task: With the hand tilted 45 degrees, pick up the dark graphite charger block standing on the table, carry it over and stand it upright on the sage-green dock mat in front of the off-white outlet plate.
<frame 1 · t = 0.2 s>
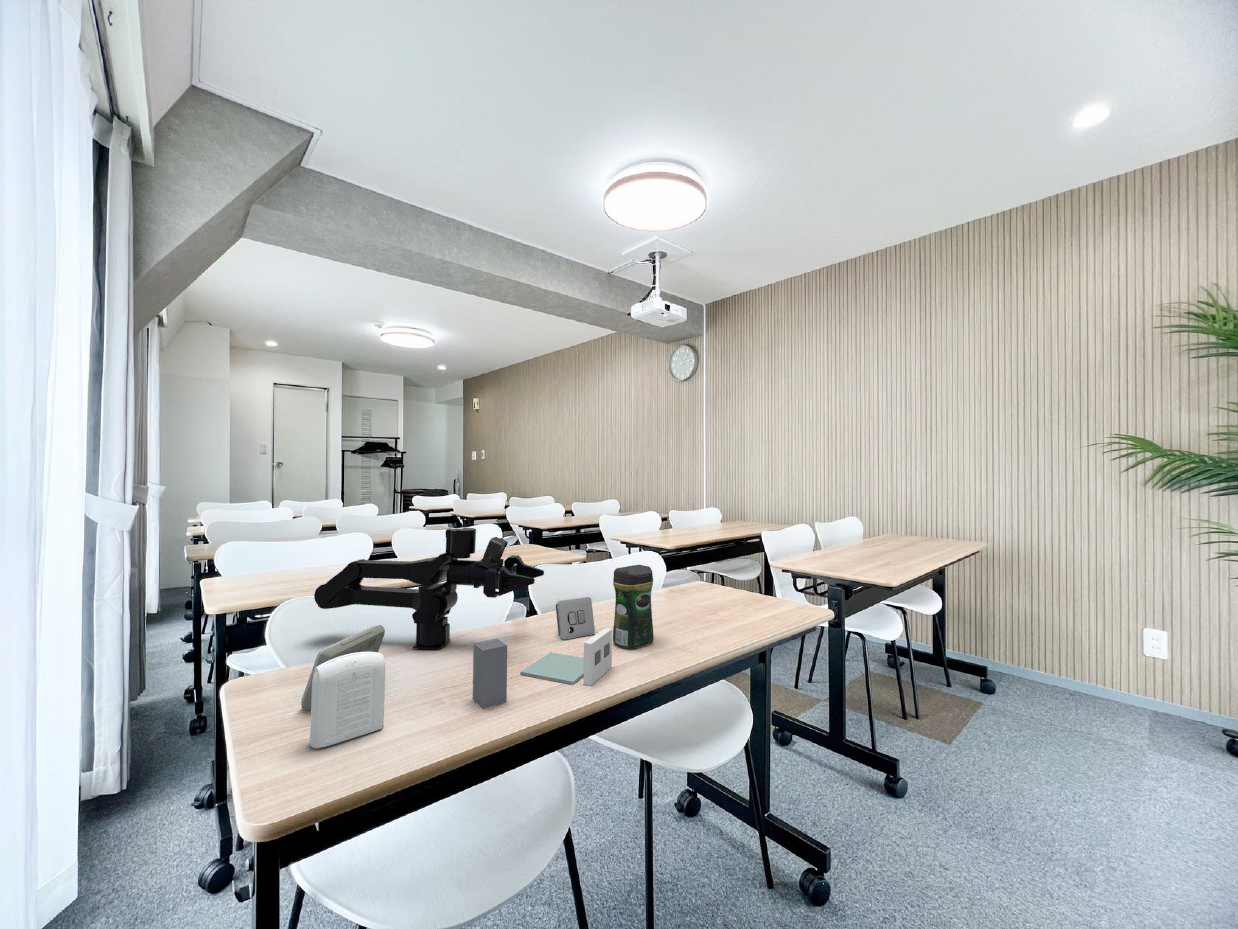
hand: (539, 576, 115), 17 cm above the table, tool horizontal, fingers open, 9 cm apart
electrical switch: (573, 636, 126), on the table
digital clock: (345, 695, 91), on the table
photo printer: (348, 736, 77), on the table
charger block: (489, 700, 89), on the table
outlet plate: (598, 675, 101), on the table
coffee jar: (632, 644, 120), on the table
dock mat: (561, 668, 104), on the table
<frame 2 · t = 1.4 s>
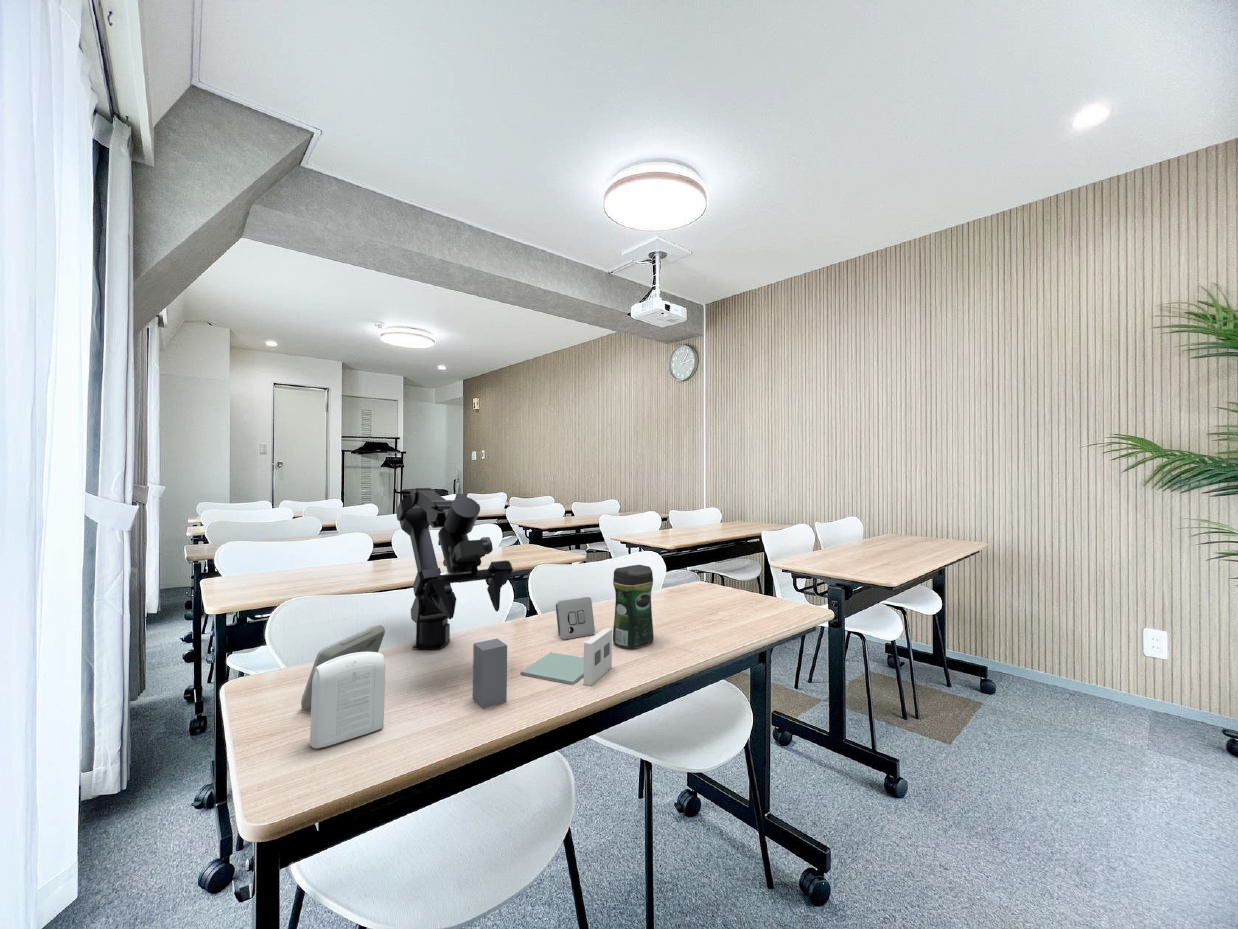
hand: (475, 614, 96), 13 cm above the table, tool tilted 45°, fingers open, 9 cm apart
nothing on the table moved.
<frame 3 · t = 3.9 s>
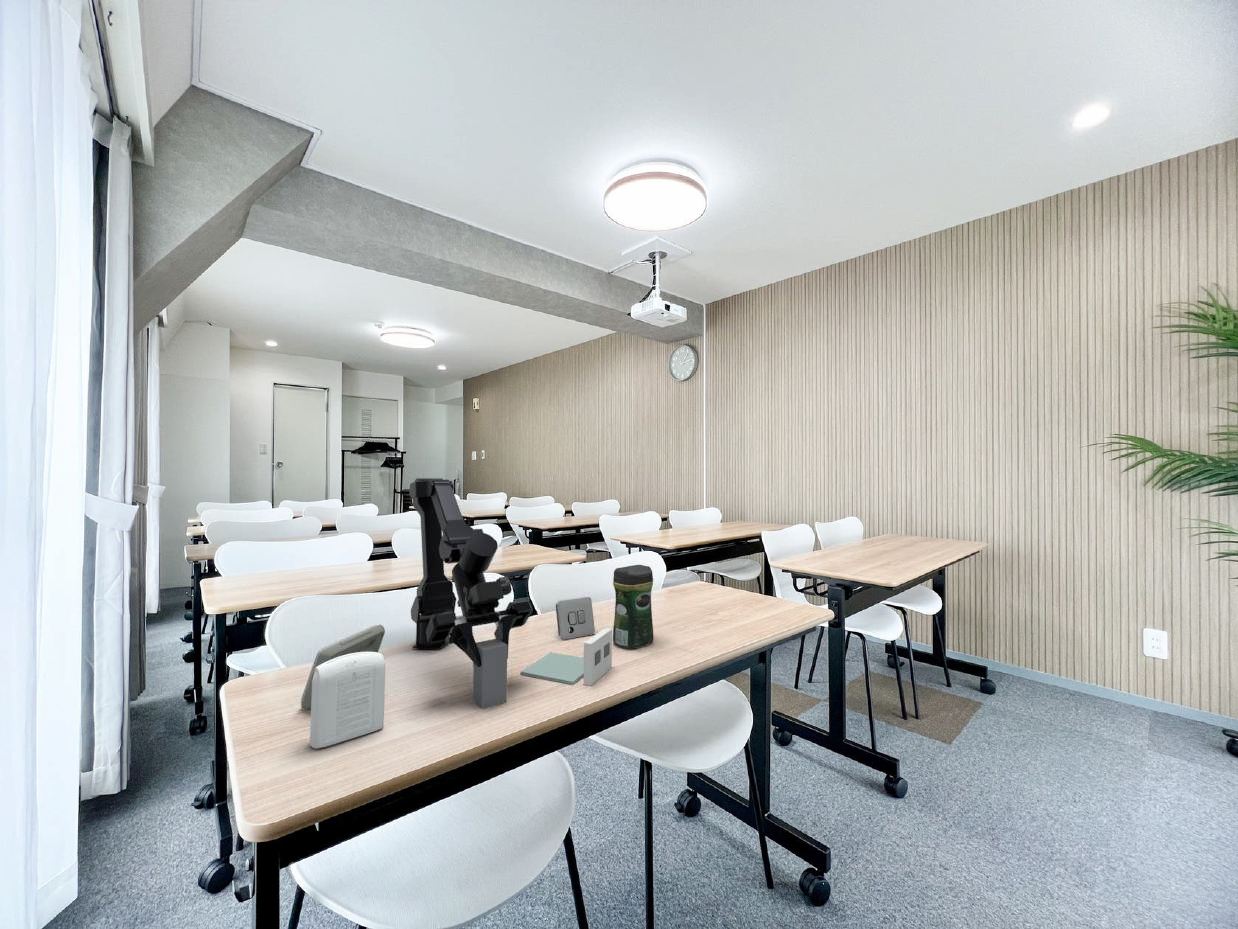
hand: (493, 662, 88), 7 cm above the table, tool tilted 45°, fingers closed on charger block, 4 cm apart
charger block: (489, 700, 89), on the table, touching gripper
everything else where it was.
when the fingers open (9 cm above the table, at t = 7.7 s): charger block stays where it is, resting on dock mat.
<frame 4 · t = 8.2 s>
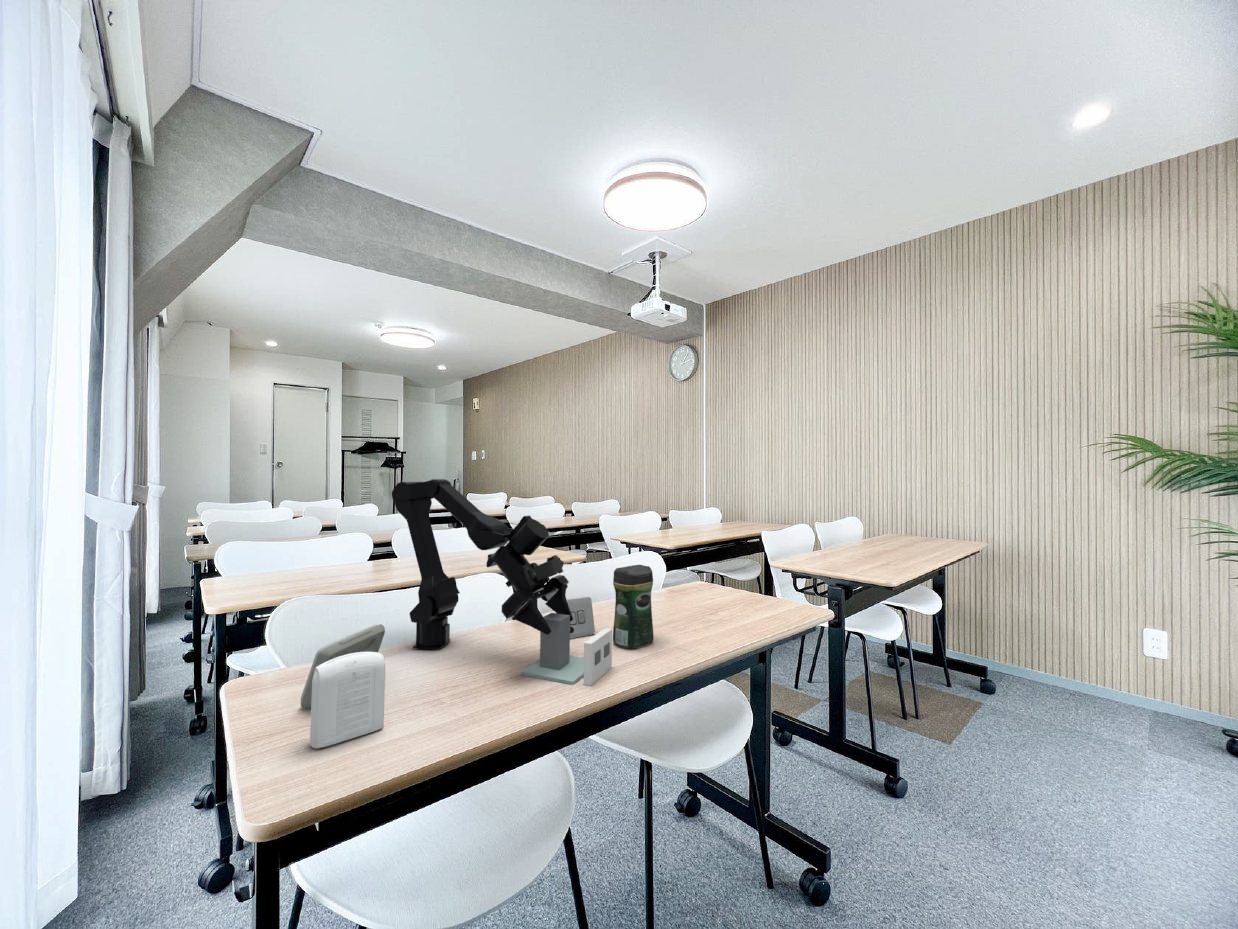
hand: (561, 627, 104), 9 cm above the table, tool tilted 45°, fingers open, 9 cm apart
charger block: (554, 664, 104), point 1 cm above the table, touching dock mat
everything else where it was.
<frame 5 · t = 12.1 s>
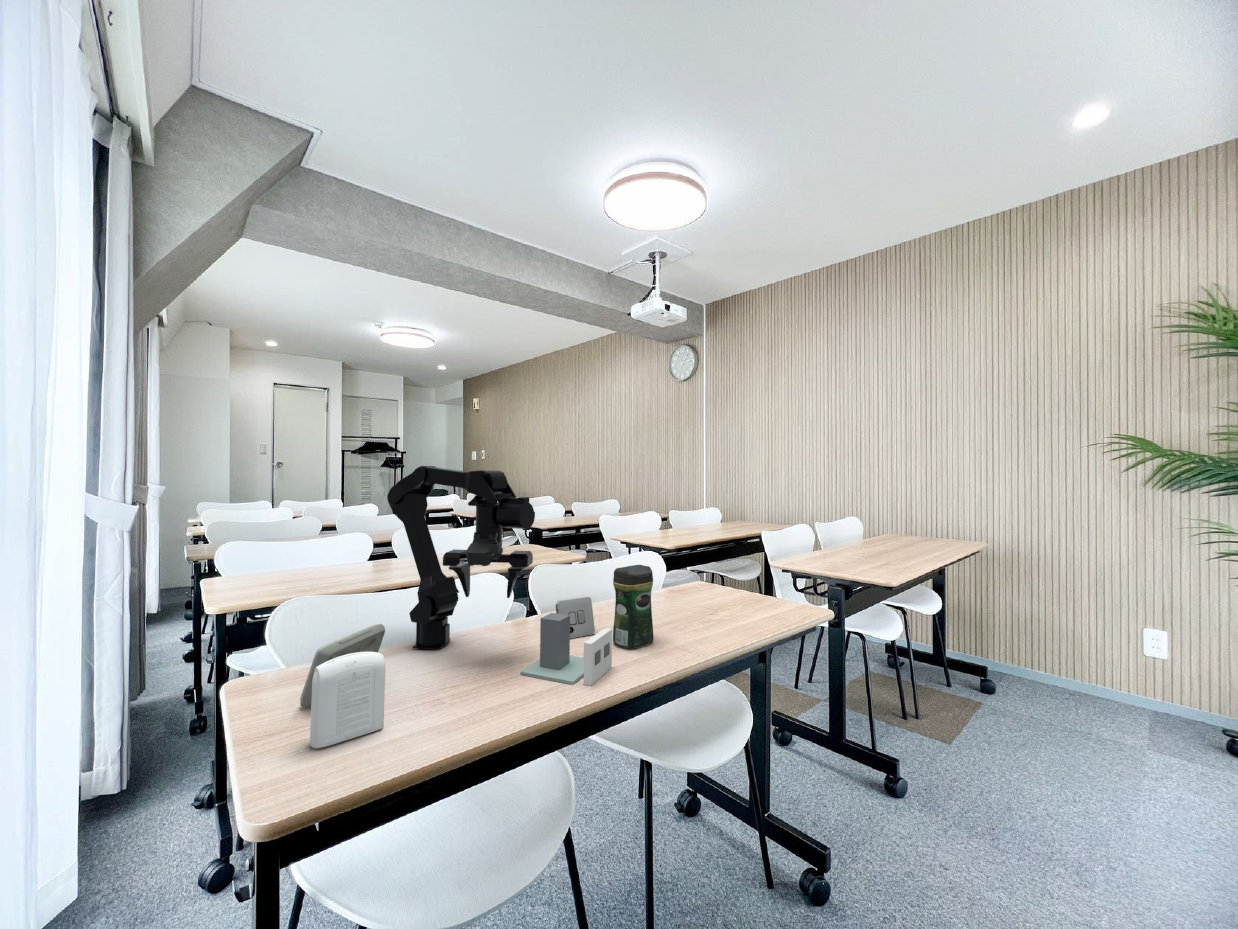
hand: (488, 597, 111), 13 cm above the table, tool pointing down, fingers open, 9 cm apart
nothing on the table moved.
at the end: charger block inside the target area (1.7 cm from its centre), point 0.6 cm above the table; charger block tilted 0°; the gripper is holding nothing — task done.
